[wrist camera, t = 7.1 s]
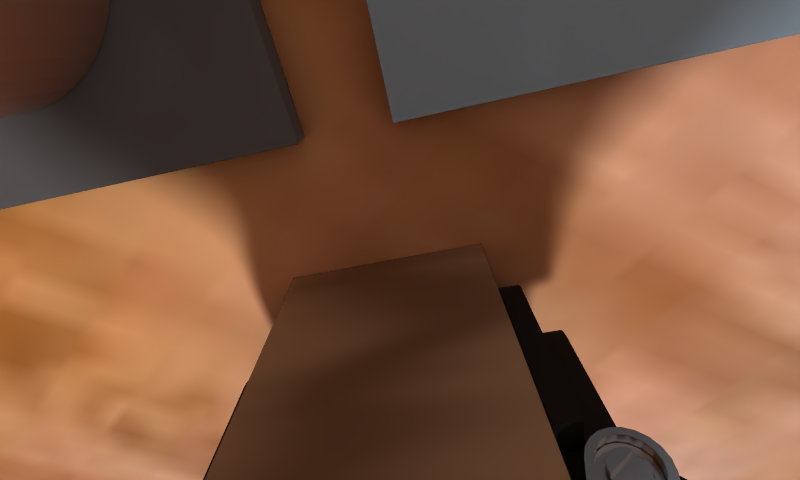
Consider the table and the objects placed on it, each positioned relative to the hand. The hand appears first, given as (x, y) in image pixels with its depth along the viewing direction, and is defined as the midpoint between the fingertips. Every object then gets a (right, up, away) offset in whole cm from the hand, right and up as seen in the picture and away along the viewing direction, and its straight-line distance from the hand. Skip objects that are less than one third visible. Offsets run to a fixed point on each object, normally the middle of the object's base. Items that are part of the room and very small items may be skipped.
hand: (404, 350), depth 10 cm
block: (0, 0, +1) cm, 1 cm away
